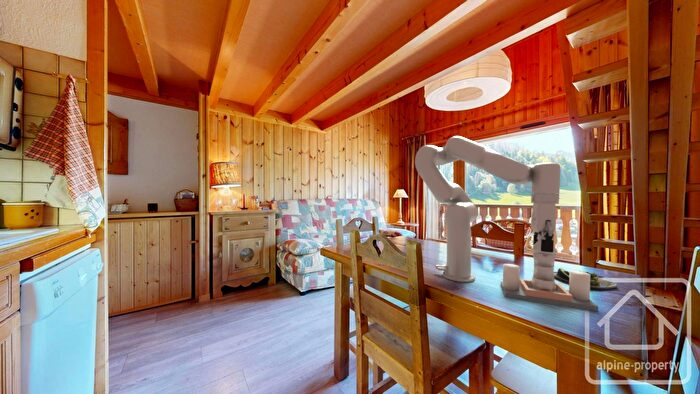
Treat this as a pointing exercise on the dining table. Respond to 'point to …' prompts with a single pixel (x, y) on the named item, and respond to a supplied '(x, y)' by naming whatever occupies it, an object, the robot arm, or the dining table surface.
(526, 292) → the twin post tray
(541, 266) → the plastic bottle
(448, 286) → the dining table surface
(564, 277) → the salad plate
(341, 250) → the dining table surface
